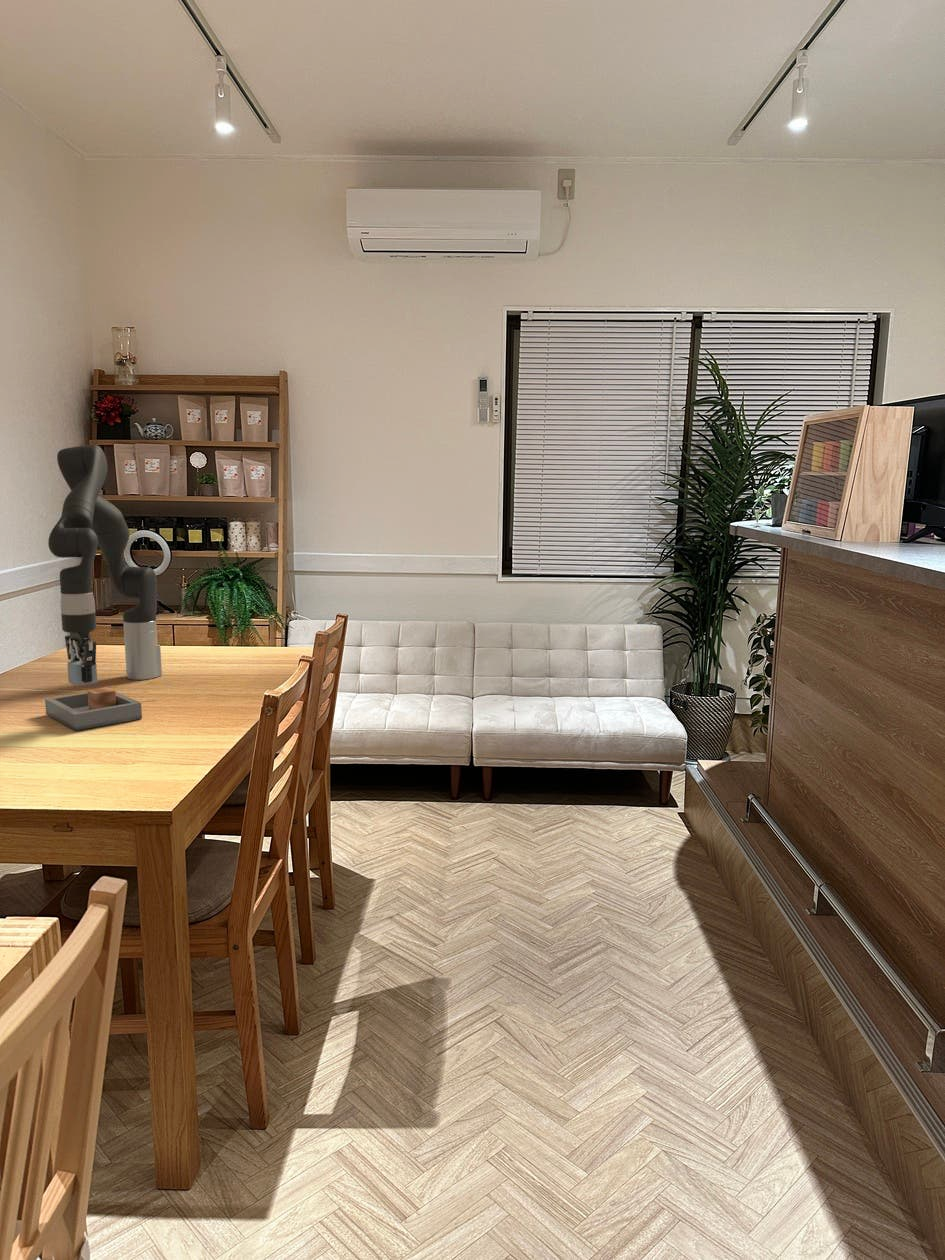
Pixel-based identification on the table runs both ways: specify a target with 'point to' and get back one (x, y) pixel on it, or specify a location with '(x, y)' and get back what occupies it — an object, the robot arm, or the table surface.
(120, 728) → the table surface
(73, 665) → the grey block
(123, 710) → the charcoal tray
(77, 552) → the robot arm
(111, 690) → the terracotta block
